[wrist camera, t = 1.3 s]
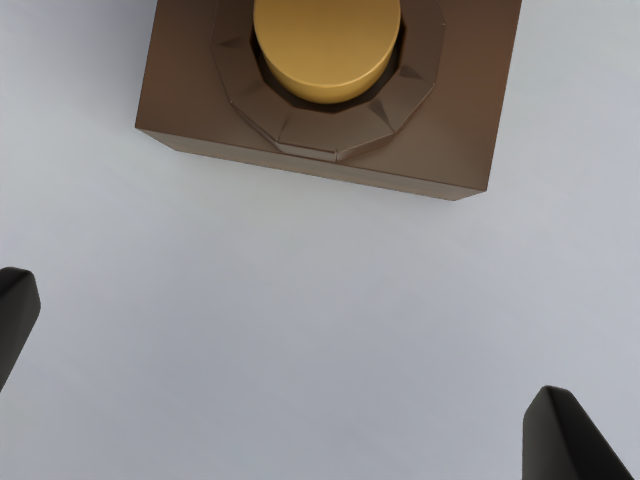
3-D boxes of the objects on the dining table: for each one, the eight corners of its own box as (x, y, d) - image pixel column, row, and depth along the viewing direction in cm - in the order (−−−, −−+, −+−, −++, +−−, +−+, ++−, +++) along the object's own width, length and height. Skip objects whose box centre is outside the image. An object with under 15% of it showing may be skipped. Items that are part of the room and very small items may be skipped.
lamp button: (379, 115, 17) (386, 99, 15) (251, 92, 18) (240, 73, 16) (404, -14, 17) (413, -48, 15) (274, -37, 18) (267, -73, 15)
